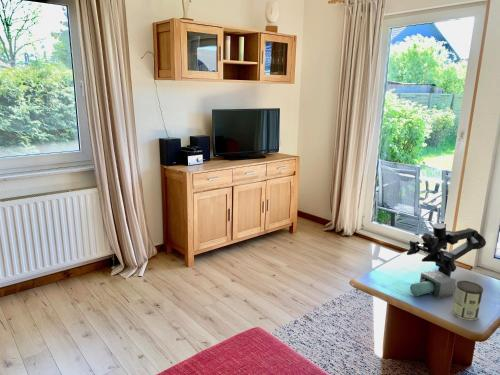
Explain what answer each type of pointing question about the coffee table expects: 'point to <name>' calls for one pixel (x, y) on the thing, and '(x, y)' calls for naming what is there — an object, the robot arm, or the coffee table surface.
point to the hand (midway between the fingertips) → (414, 257)
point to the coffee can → (467, 300)
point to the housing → (439, 283)
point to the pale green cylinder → (422, 288)
